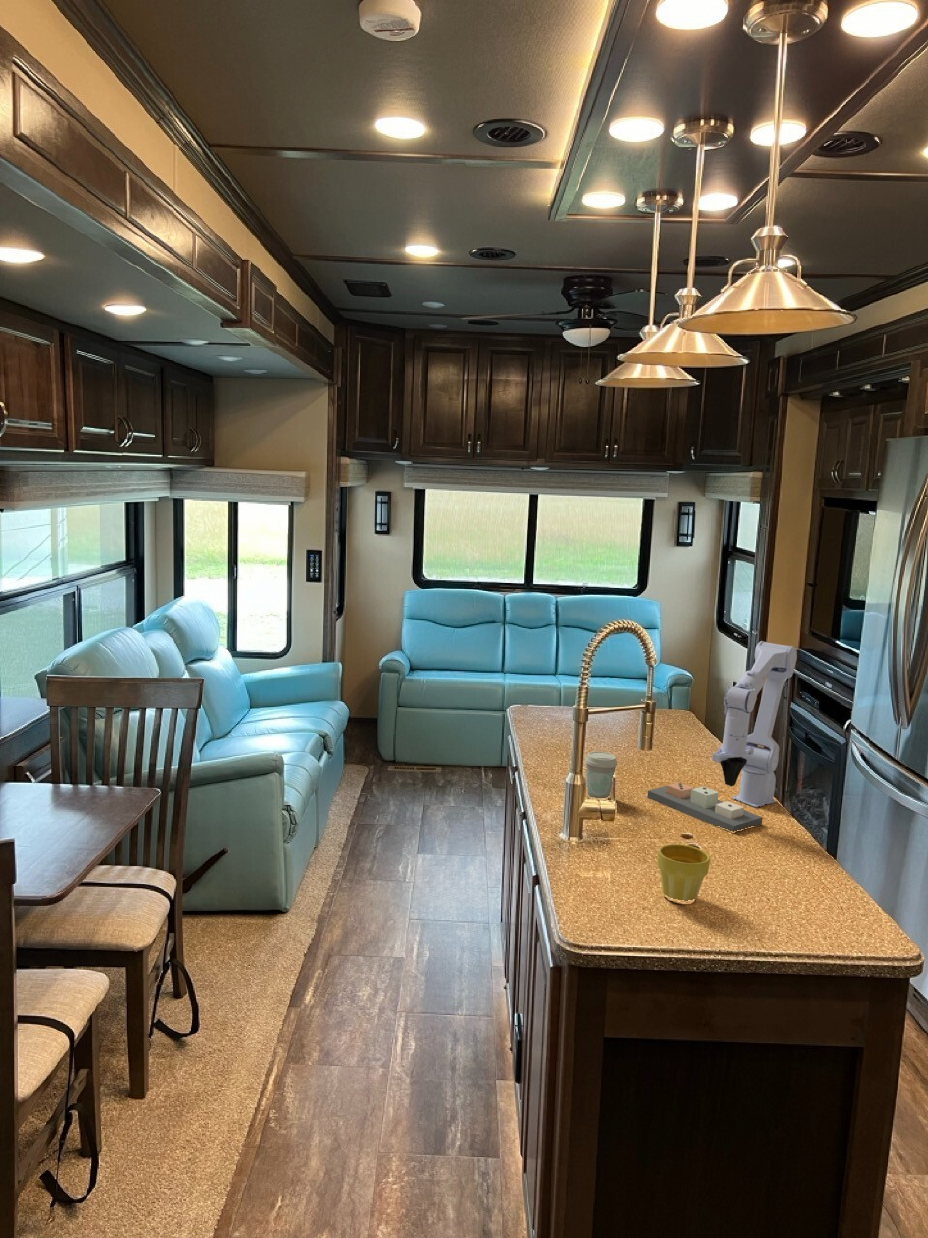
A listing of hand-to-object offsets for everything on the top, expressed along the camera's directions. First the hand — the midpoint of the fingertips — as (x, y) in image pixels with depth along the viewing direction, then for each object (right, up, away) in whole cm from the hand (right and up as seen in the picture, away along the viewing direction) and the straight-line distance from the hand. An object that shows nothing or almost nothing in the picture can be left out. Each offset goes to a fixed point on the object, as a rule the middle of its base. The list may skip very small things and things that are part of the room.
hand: (729, 784), depth 232 cm
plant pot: (-24, -16, -44) cm, 53 cm away
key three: (-10, -7, +13) cm, 18 cm away
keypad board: (-5, -8, +7) cm, 12 cm away
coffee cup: (-32, -6, +11) cm, 35 cm away
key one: (0, -9, +1) cm, 9 cm away
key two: (-5, -7, +6) cm, 11 cm away
